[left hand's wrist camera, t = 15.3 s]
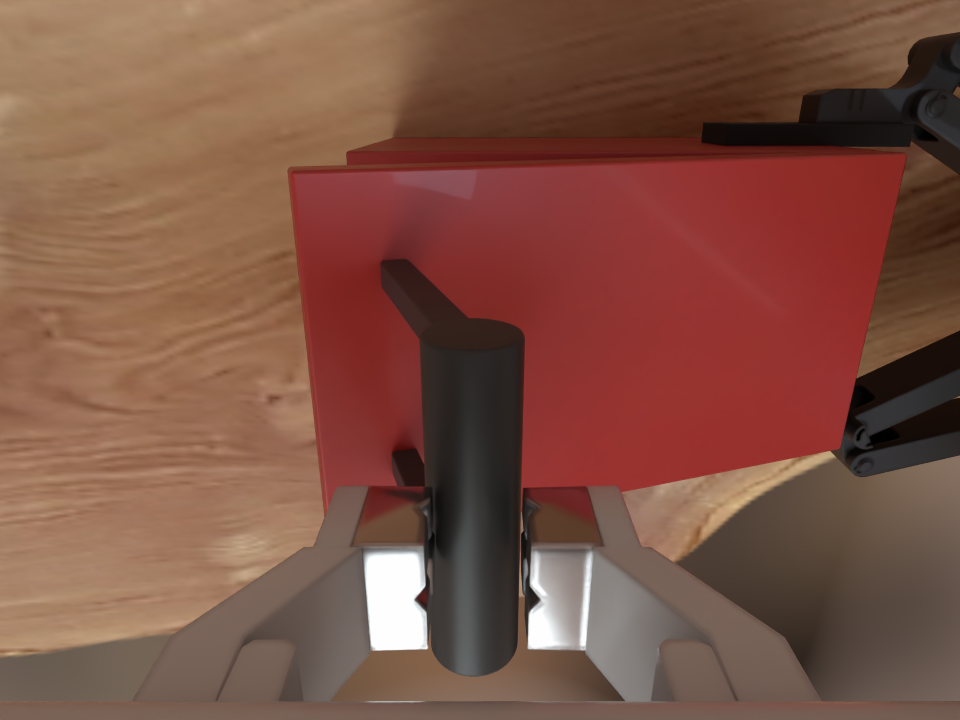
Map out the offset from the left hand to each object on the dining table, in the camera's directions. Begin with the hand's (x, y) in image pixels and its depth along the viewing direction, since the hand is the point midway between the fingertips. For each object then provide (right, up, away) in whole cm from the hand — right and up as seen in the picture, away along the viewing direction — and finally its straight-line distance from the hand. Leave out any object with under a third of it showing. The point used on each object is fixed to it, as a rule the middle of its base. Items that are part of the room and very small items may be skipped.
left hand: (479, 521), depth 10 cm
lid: (+4, +3, +9) cm, 10 cm away
